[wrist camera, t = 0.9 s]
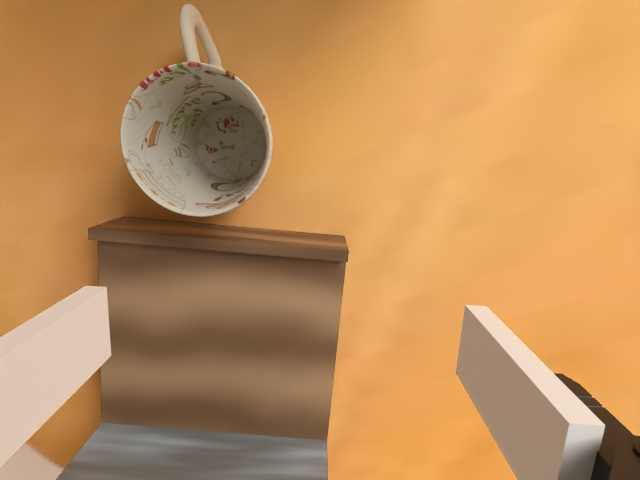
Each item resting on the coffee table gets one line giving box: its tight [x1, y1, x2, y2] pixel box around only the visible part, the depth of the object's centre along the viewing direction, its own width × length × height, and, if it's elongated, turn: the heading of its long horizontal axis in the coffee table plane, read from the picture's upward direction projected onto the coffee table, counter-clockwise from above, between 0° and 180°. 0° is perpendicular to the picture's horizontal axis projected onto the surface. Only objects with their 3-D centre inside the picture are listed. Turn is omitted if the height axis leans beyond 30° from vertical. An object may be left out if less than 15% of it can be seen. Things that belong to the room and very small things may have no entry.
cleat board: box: [56, 217, 349, 480], centre depth 26 cm, size 18×18×20 cm
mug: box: [120, 4, 273, 217], centre depth 27 cm, size 8×13×10 cm, turn 11°
